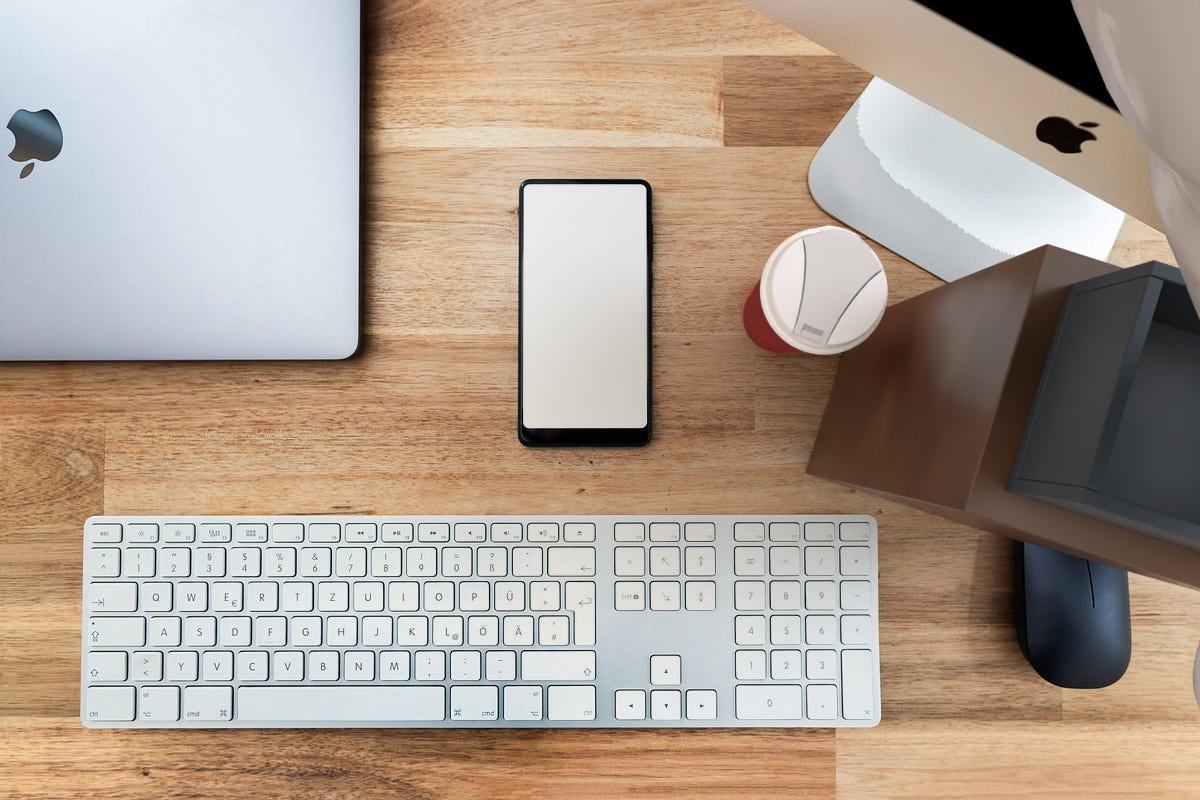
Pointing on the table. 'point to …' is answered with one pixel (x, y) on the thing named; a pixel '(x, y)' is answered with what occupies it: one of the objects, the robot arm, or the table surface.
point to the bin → (1120, 407)
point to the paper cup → (817, 294)
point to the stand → (971, 412)
